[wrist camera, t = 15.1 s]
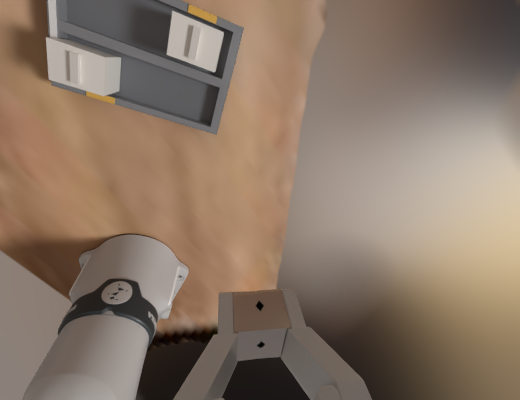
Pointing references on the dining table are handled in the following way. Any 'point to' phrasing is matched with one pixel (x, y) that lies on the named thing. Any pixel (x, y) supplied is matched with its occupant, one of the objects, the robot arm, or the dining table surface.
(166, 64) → the switch board
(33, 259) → the dining table surface
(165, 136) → the dining table surface
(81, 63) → the white cube-shaped block
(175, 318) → the dining table surface
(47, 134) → the dining table surface
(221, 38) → the white sliding block
